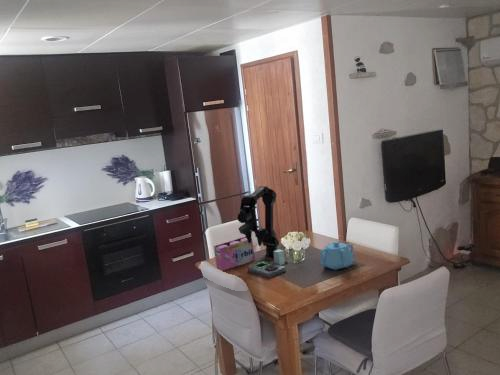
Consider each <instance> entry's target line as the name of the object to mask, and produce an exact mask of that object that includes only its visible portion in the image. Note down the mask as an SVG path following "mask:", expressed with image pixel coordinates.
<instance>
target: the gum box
mask: <svg viewBox="0 0 500 375" xmlns="http://www.w3.org/2000/svg"><path fill="white" fill-rule="evenodd" d="M213 249H214V250H213V251H214V257H215V265H216V268H217V269H218V268H219V269H218V270H220V269H221V271H222V270H224V271H227V270H230V269H229V268H231V269H233V268H236V266H237V267H239V266H242V265H246V264H249V263H251V262H254V261H256V256H255V249H254V242H253V238H251V243H249V242H248V240H247V238H246V236H243V237H239V238H237V239H234V240H231V241H227V242H223V243H220V244H217V245H214V246H213ZM226 269H227V270H226Z"/></svg>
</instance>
